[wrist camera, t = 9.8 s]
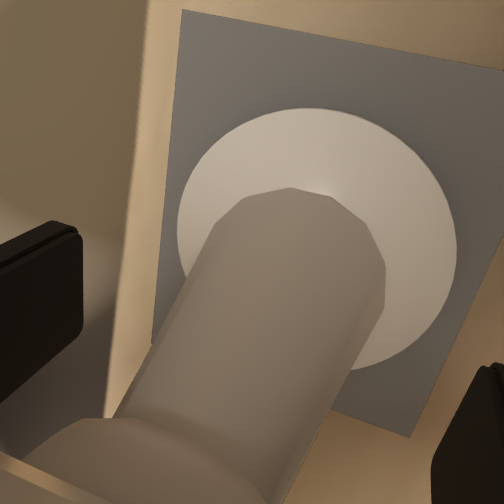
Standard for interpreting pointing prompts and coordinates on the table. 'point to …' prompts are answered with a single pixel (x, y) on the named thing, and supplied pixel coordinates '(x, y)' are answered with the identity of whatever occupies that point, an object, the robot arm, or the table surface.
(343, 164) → the scale
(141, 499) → the salt shaker
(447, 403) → the table surface
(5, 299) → the robot arm
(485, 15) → the table surface
